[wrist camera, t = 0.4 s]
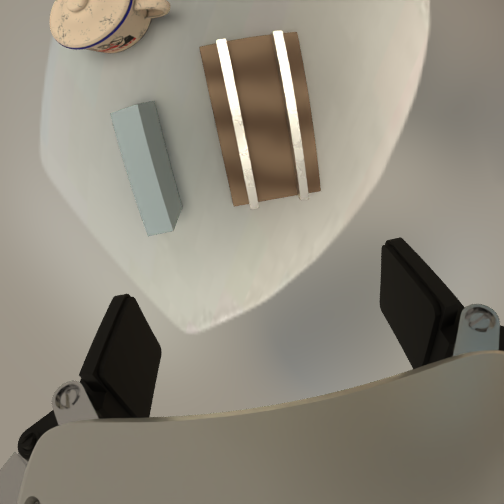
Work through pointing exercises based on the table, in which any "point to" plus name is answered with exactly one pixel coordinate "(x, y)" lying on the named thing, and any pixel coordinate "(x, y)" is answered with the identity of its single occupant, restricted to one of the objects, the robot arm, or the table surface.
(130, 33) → the teacup with lid
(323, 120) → the table surface
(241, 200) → the bottom track
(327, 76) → the table surface
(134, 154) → the door panel
